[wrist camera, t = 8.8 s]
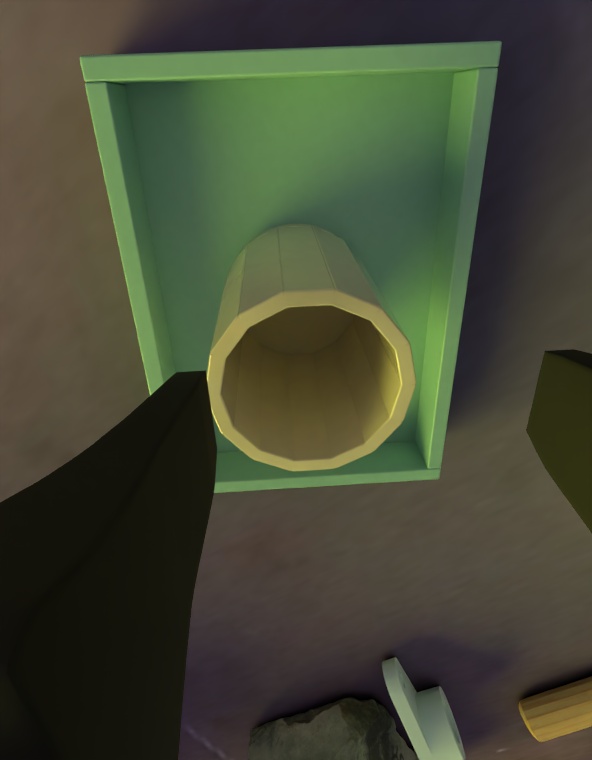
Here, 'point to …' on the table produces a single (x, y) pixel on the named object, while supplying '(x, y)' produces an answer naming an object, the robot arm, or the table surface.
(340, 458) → the cup
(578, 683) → the hammer
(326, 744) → the stone block
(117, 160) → the tray
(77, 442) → the table surface
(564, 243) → the table surface
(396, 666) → the mechanical part
